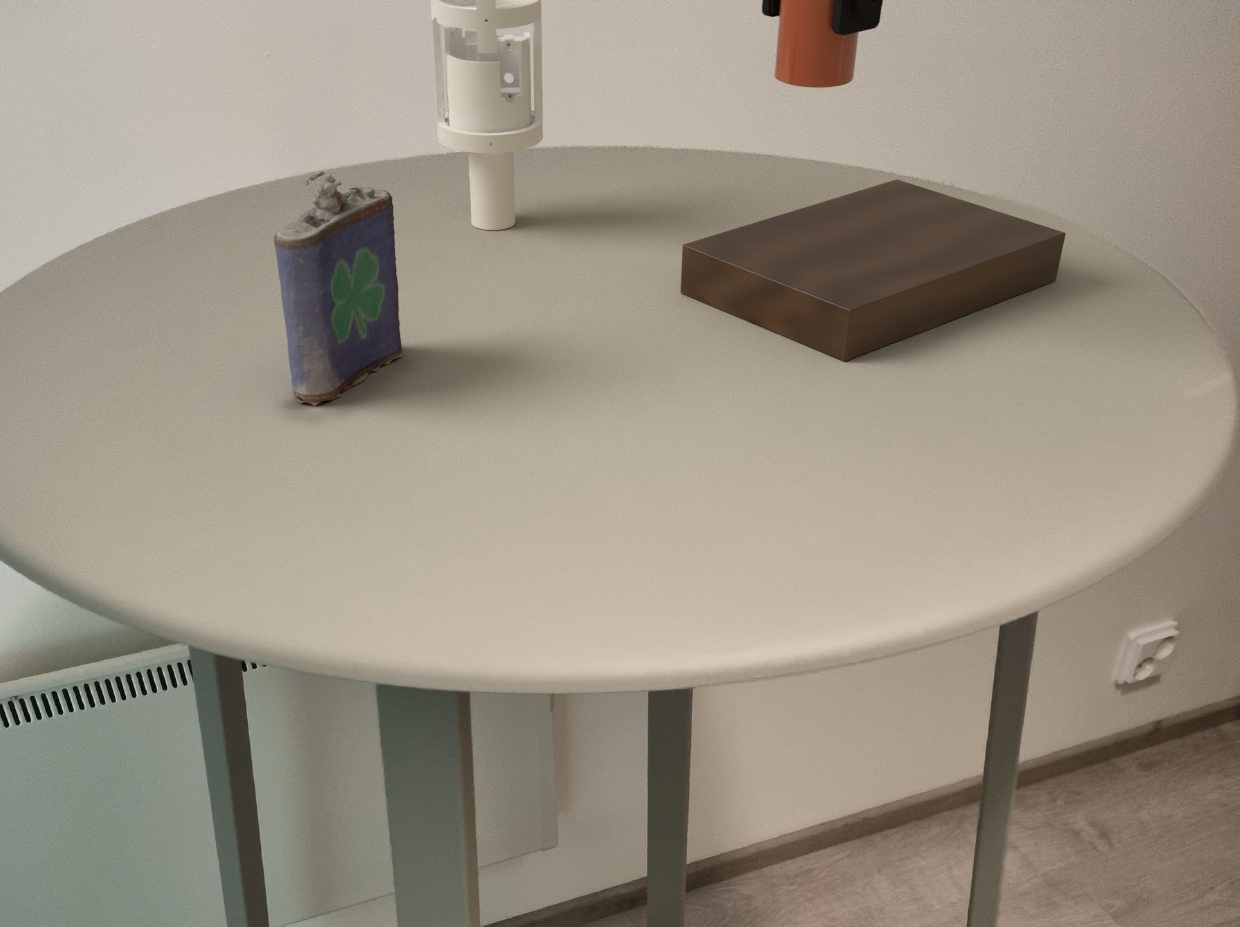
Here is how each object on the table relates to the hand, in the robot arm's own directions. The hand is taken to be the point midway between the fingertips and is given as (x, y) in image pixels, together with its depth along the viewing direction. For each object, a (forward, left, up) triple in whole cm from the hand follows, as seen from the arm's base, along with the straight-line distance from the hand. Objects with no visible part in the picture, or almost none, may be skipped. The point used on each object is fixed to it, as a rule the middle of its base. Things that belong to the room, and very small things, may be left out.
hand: (819, 18), depth 82 cm
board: (0, -7, -16) cm, 18 cm away
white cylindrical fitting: (+25, +4, -16) cm, 30 cm away
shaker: (0, 0, -3) cm, 3 cm away
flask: (+10, +26, -16) cm, 32 cm away
